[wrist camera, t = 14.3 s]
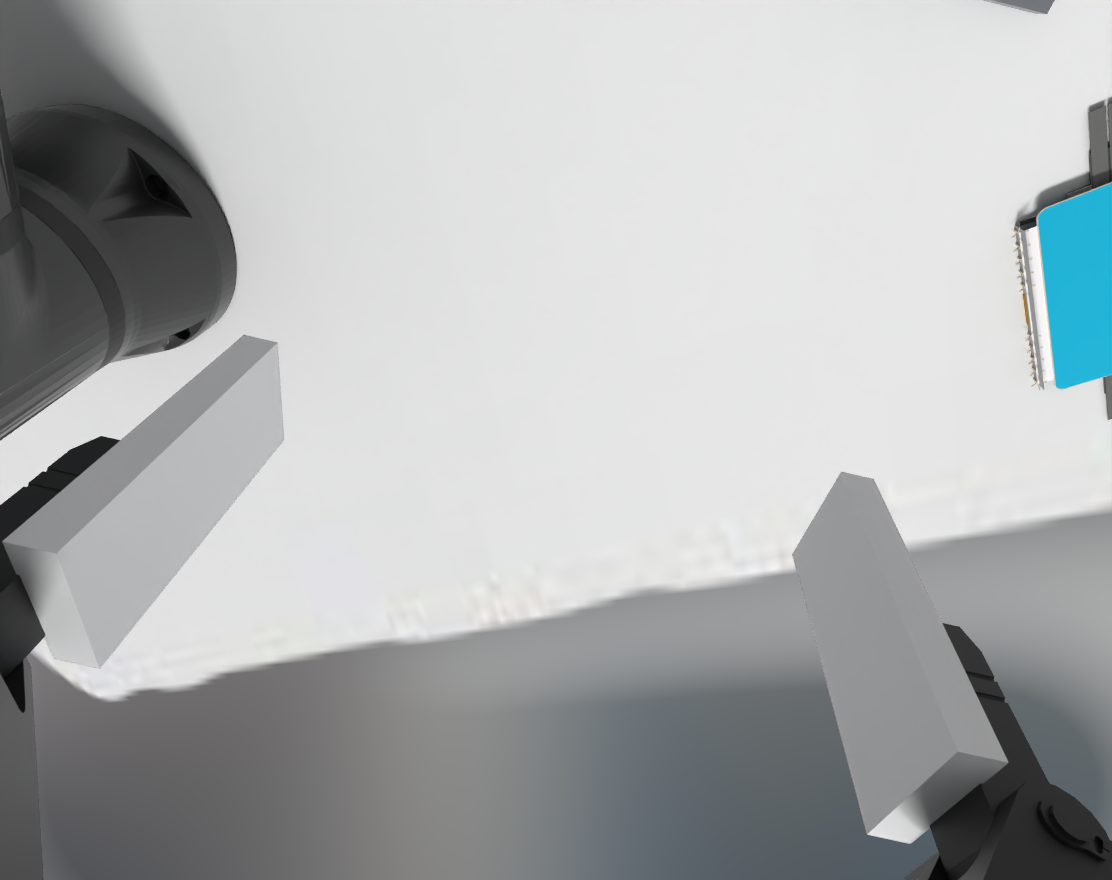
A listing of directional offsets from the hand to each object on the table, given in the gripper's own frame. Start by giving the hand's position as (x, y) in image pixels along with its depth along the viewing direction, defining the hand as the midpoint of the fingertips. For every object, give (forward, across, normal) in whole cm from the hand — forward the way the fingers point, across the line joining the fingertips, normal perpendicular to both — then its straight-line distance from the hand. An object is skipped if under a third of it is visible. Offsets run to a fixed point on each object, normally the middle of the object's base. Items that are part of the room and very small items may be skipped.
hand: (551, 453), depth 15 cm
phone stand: (+27, +30, +2) cm, 41 cm away
